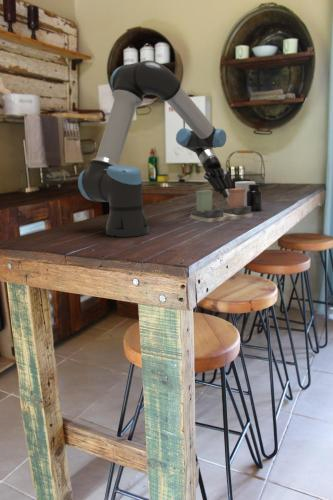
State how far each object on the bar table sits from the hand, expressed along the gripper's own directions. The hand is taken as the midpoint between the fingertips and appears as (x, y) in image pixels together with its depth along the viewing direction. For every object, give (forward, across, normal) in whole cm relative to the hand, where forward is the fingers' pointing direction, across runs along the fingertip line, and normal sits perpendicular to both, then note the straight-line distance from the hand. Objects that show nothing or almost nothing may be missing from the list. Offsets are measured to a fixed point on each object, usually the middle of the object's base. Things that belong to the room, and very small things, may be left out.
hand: (231, 202), depth 185 cm
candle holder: (-9, -22, -18) cm, 30 cm away
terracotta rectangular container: (+5, 0, 0) cm, 5 cm away
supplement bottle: (0, -17, -8) cm, 19 cm away
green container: (+3, +14, -2) cm, 14 cm away
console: (+5, +7, -2) cm, 9 cm away
